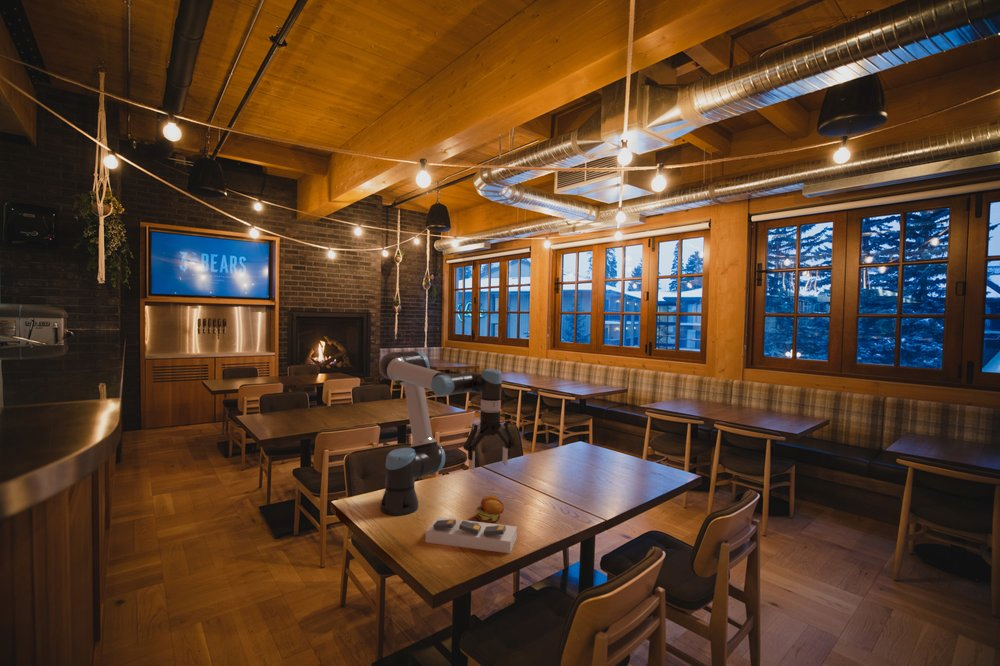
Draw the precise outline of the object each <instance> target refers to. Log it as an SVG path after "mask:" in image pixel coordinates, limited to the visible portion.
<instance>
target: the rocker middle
mask: <svg viewBox="0 0 1000 666" xmlns="http://www.w3.org/2000/svg"><path fill="white" fill-rule="evenodd" d="M467 521H468V520H467ZM467 521H462V523H461V524H460V526H459V529H460V530H464V531H467V532H470V533H473V534H477V535H478V533H479V532H480V530H481V526H480V525H476V524H473V523H470V522H467Z"/></svg>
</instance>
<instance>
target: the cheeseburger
mask: <svg viewBox="0 0 1000 666" xmlns="http://www.w3.org/2000/svg"><path fill="white" fill-rule="evenodd" d="M504 506H505V505H504V503H503V502H502V501H501V500H500V499H499V498H498V497H497V496H495V495H492V494H488V495H486V496H484V497H483V498H481V501H480V504H479V505H478V506H477V507H476V509H475V515H476V518H477V520H478V521H479V522H483V523H494V522H497V521H498V520H500V518H501V517H502V514H503V513H504V510H505V507H504Z"/></svg>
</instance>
